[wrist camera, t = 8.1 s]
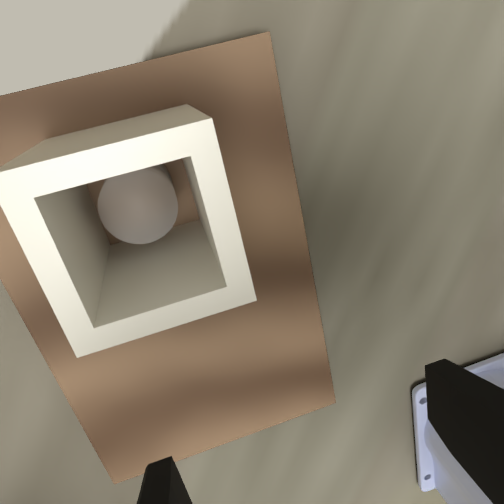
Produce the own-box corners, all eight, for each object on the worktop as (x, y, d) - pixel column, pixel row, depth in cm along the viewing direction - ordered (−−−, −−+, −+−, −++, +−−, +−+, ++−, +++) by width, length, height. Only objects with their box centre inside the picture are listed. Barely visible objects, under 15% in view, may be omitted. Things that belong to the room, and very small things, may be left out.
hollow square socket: (220, 230, 17) (256, 300, 12) (98, 265, 16) (76, 358, 11) (186, 103, 15) (212, 117, 9) (45, 139, 14) (-14, 175, 9)
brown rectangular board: (327, 387, 23) (362, 447, 19) (115, 464, 22) (109, 545, 18) (260, 34, 16) (298, 20, 12) (-72, 114, 14) (-151, 127, 10)
